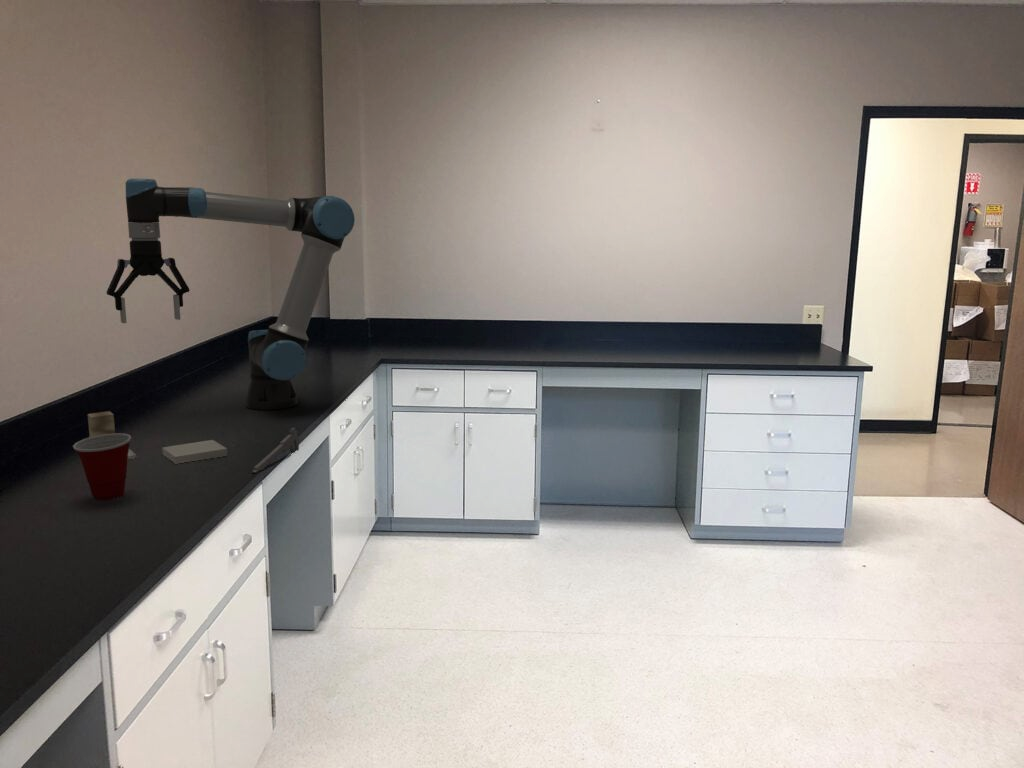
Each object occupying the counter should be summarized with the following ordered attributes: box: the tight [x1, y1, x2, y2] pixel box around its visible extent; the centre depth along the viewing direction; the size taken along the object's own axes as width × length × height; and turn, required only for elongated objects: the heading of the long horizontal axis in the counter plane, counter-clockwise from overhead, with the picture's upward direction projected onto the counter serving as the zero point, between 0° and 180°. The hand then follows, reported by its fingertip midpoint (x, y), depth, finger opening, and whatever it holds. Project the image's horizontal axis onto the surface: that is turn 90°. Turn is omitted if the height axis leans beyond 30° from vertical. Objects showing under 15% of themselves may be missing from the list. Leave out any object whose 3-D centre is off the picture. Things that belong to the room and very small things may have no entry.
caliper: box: [252, 427, 300, 473], centre depth 200 cm, size 20×1×6 cm, turn 166°
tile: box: [162, 439, 228, 465], centre depth 205 cm, size 12×2×10 cm
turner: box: [87, 411, 138, 460], centre depth 208 cm, size 8×23×8 cm, turn 37°
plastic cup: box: [72, 432, 132, 501], centre depth 174 cm, size 11×11×12 cm
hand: (151, 321), depth 227 cm, fingers open, 13 cm apart
